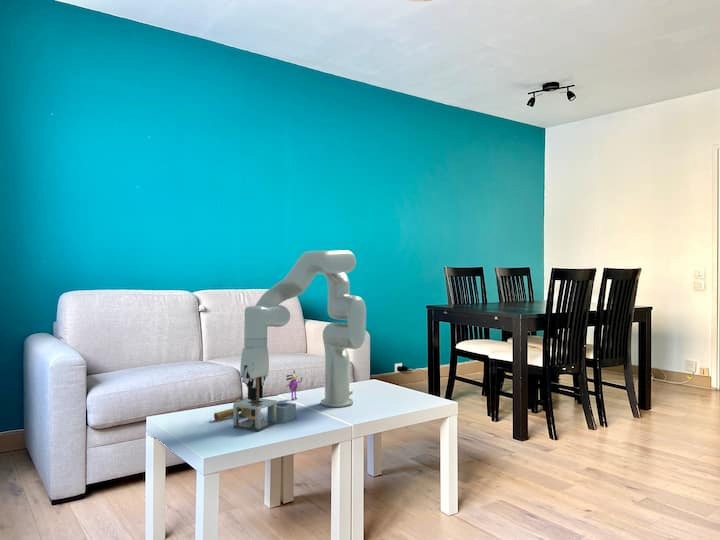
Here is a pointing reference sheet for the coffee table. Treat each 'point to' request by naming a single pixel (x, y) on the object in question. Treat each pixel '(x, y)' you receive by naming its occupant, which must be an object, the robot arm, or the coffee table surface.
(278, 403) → the stylus holder
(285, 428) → the coffee table surface
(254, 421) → the button
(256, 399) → the stylus
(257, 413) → the guard frame
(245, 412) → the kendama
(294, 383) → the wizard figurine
